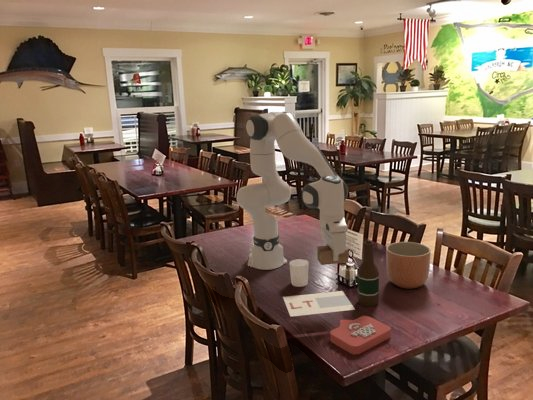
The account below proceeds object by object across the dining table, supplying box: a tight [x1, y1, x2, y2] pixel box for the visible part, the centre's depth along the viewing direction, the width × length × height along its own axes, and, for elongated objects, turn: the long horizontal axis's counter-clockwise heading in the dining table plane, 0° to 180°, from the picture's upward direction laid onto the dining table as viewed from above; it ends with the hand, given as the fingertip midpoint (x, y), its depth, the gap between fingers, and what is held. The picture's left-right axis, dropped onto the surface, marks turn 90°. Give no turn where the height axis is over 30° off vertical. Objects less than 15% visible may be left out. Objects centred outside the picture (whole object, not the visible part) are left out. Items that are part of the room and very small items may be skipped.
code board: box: [282, 290, 356, 317], centre depth 171 cm, size 16×24×1 cm, turn 98°
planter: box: [385, 241, 432, 290], centre depth 184 cm, size 17×17×15 cm
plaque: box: [329, 315, 392, 356], centre depth 148 cm, size 18×4×15 cm
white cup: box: [289, 258, 310, 288], centre depth 188 cm, size 8×8×10 cm
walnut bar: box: [316, 245, 349, 266], centre depth 167 cm, size 6×10×5 cm, turn 98°
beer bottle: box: [357, 240, 380, 307], centre depth 168 cm, size 8×8×24 cm
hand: (332, 256), depth 167 cm, fingers closed on walnut bar, 6 cm apart
